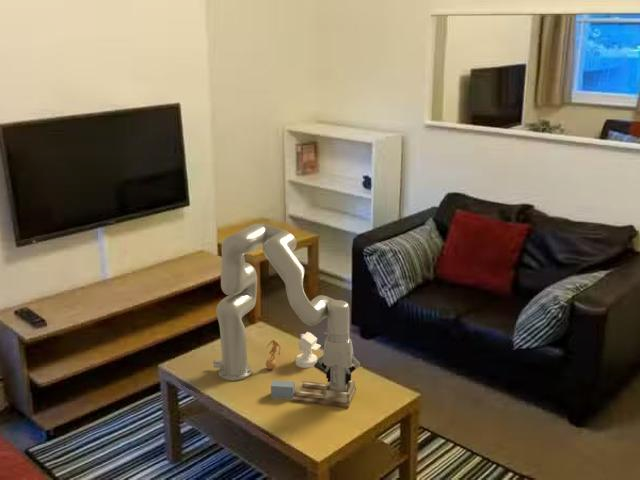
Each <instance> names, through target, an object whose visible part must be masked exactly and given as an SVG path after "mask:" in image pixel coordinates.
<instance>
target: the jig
mask: <svg viewBox="0 0 640 480" xmlns="http://www.w3.org/2000/svg"><path fill="white" fill-rule="evenodd" d="M356 390H357V387H356V381H355V380H351V381H349V383H348V384H347V391H346V392H338V391H331V390H330V382H328V381H327V383H323V382H314V381H306V380H305V381H304V380H301V382H300V384H299V385H298V386H297V389H296V390H295V395H294V397H293V398H292V399H291V401H292V402H293V403H294V402H295V403H303V404H309V405H310V404H311V405H317V406H318V405H319V406H328V407H336V408H343V409H345V408H346V409H349V408H350V406H351V403H352V400H353V398H354V396H355V393H356Z"/></svg>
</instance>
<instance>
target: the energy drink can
mask: <svg viewBox="0 0 640 480" xmlns="http://www.w3.org/2000/svg"><path fill="white" fill-rule="evenodd" d="M346 373H347V371H346V368H340V363H339V362H336V361H335V362H334V367H330V390H331V391H338V392H346V391H347V384H346Z"/></svg>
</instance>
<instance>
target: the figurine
mask: <svg viewBox="0 0 640 480" xmlns="http://www.w3.org/2000/svg"><path fill="white" fill-rule="evenodd" d="M271 344H272V347H271V349H270V351H269V354H270V355H271V357H270V358H269V359H267V361H266V362H265V366H266V368H267V369H268V370H274V369H275V368H276V366H277V362H276V360H275V357H276V352H277V351H278V353H277V355H278V356H280V354H281V349H282V348H281V345H280V340H279V339H273V340H271V341H270V342H269V343H268V344H267V346H266V348H267V349H268V347H269V346H270V345H271ZM278 347H279V349H278V350H277V348H278Z"/></svg>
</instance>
